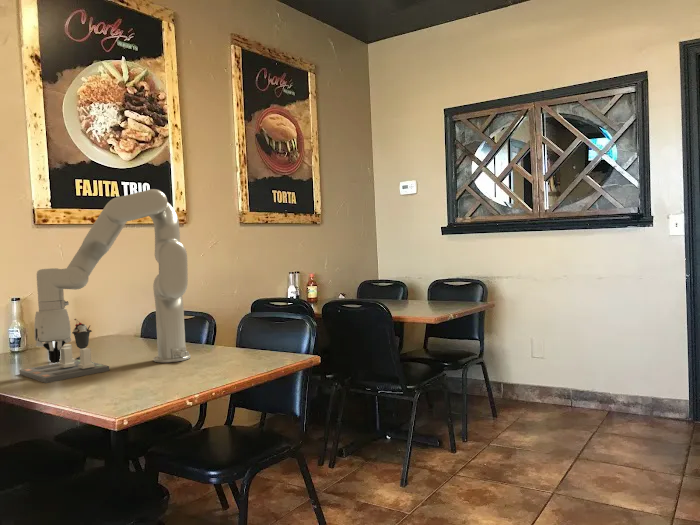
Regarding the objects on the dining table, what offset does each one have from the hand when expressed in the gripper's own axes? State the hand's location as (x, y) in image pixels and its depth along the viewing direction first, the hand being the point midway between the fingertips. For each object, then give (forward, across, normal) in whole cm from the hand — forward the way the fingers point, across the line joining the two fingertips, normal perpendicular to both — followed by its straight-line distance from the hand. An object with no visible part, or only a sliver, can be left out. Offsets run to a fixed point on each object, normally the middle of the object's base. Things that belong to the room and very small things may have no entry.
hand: (55, 362), depth 191 cm
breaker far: (+2, -7, -7) cm, 10 cm away
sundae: (+4, -18, -21) cm, 28 cm away
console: (+4, -3, 0) cm, 5 cm away
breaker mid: (+2, -4, 0) cm, 4 cm away
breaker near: (+2, -7, +8) cm, 10 cm away
